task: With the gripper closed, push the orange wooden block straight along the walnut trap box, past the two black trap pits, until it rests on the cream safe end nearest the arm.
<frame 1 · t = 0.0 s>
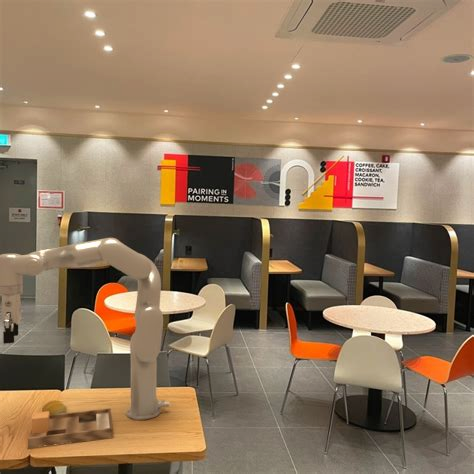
hand: (11, 339, 161), 31 cm above the table, tool pointing down, fingers open, 9 cm apart
trap box: (72, 431, 160), on the table
orange block: (40, 429, 157), point 2 cm above the table, touching trap box
bread roll: (54, 413, 176), on the table
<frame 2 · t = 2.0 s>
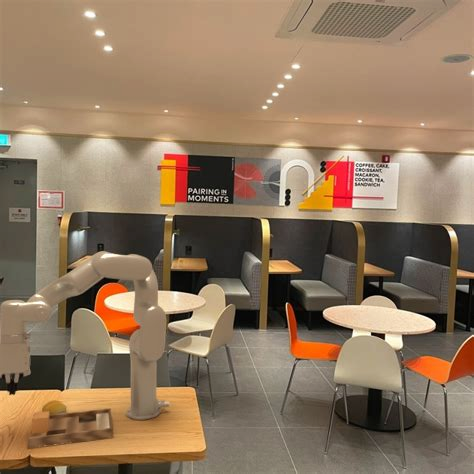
hand: (12, 393, 154), 15 cm above the table, tool pointing down, fingers closed
nothing on the table moved.
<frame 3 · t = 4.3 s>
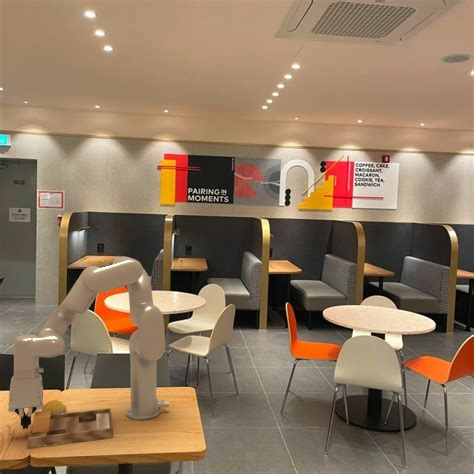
hand: (25, 427, 156), 3 cm above the table, tool pointing down, fingers closed
orange block: (40, 429, 157), point 2 cm above the table, tilted 5°, touching gripper, trap box
everything else where it was.
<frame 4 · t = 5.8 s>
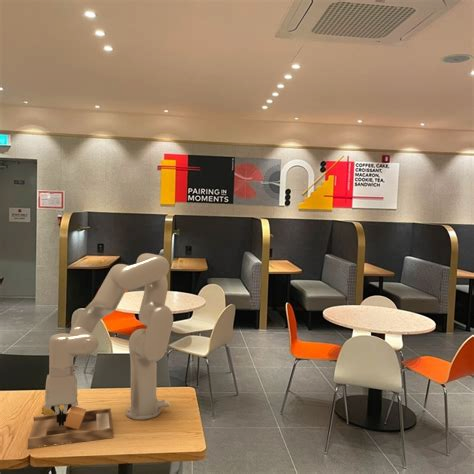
hand: (61, 423, 159), 3 cm above the table, tool pointing down, fingers closed
orange block: (72, 424, 160), point 3 cm above the table, tilted 20°, touching gripper
everything else where it was.
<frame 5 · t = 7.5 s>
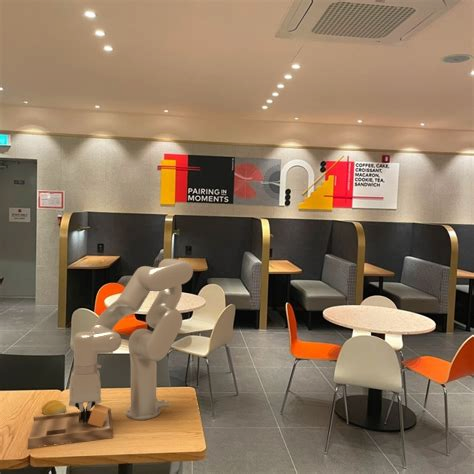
hand: (85, 420, 161), 3 cm above the table, tool pointing down, fingers closed
orange block: (96, 422, 162), point 3 cm above the table, tilted 20°, touching gripper, trap box
everything else where it was.
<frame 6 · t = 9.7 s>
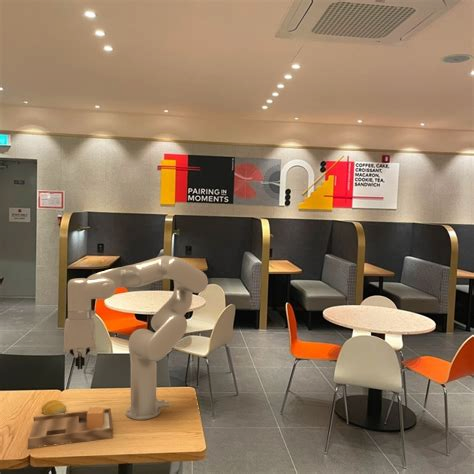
hand: (80, 367, 160), 22 cm above the table, tool pointing down, fingers closed
orange block: (95, 424, 162), point 2 cm above the table, touching trap box
everything else where it was.
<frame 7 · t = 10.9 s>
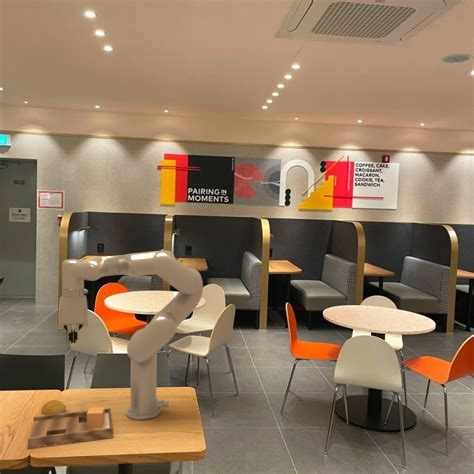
hand: (73, 342, 173), 27 cm above the table, tool pointing down, fingers closed
nothing on the table moved.
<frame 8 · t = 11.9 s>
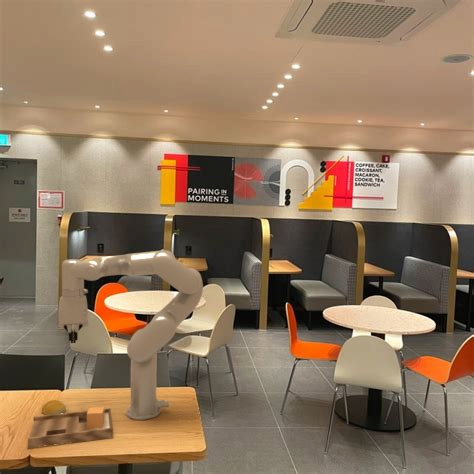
hand: (73, 342, 173), 27 cm above the table, tool pointing down, fingers closed
nothing on the table moved.
at the end: orange block inside the target area on the trap box (1.7 cm from its centre), point 2.0 cm above the trap box's base; orange block tilted 0°; the gripper is holding nothing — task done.
